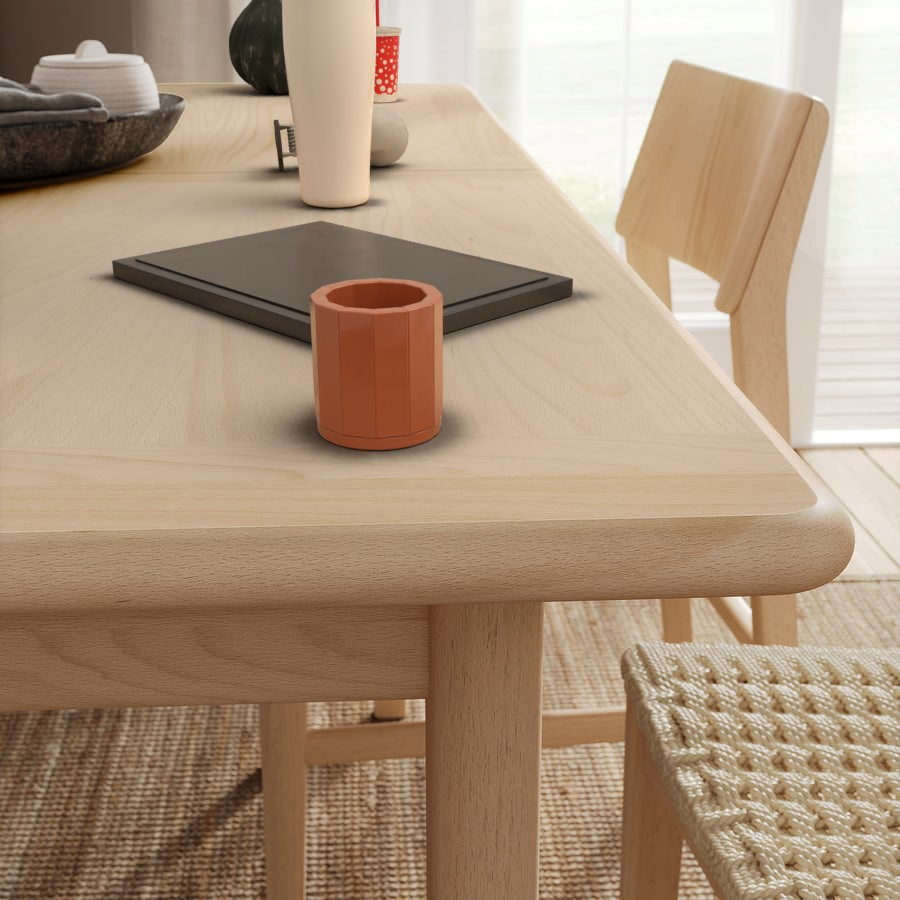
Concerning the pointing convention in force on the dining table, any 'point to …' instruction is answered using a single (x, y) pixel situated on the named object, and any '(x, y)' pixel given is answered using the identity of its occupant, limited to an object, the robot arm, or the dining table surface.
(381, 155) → the clip-on lamp
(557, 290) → the tablet
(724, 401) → the dining table surface
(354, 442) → the pen pot
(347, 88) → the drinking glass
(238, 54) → the squash
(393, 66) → the beverage cup
